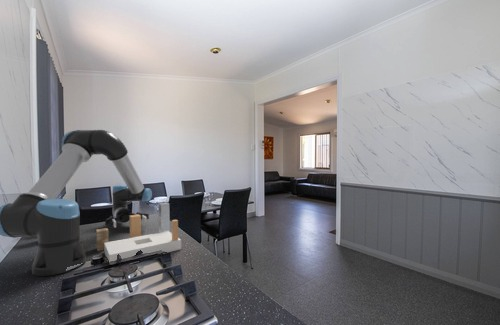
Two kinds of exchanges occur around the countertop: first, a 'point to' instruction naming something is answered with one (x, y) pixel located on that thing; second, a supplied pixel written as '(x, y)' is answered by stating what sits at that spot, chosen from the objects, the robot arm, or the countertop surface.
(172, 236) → the hole block
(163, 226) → the pin long
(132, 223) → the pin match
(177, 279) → the countertop surface
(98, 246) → the pin short
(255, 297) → the countertop surface
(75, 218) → the robot arm
